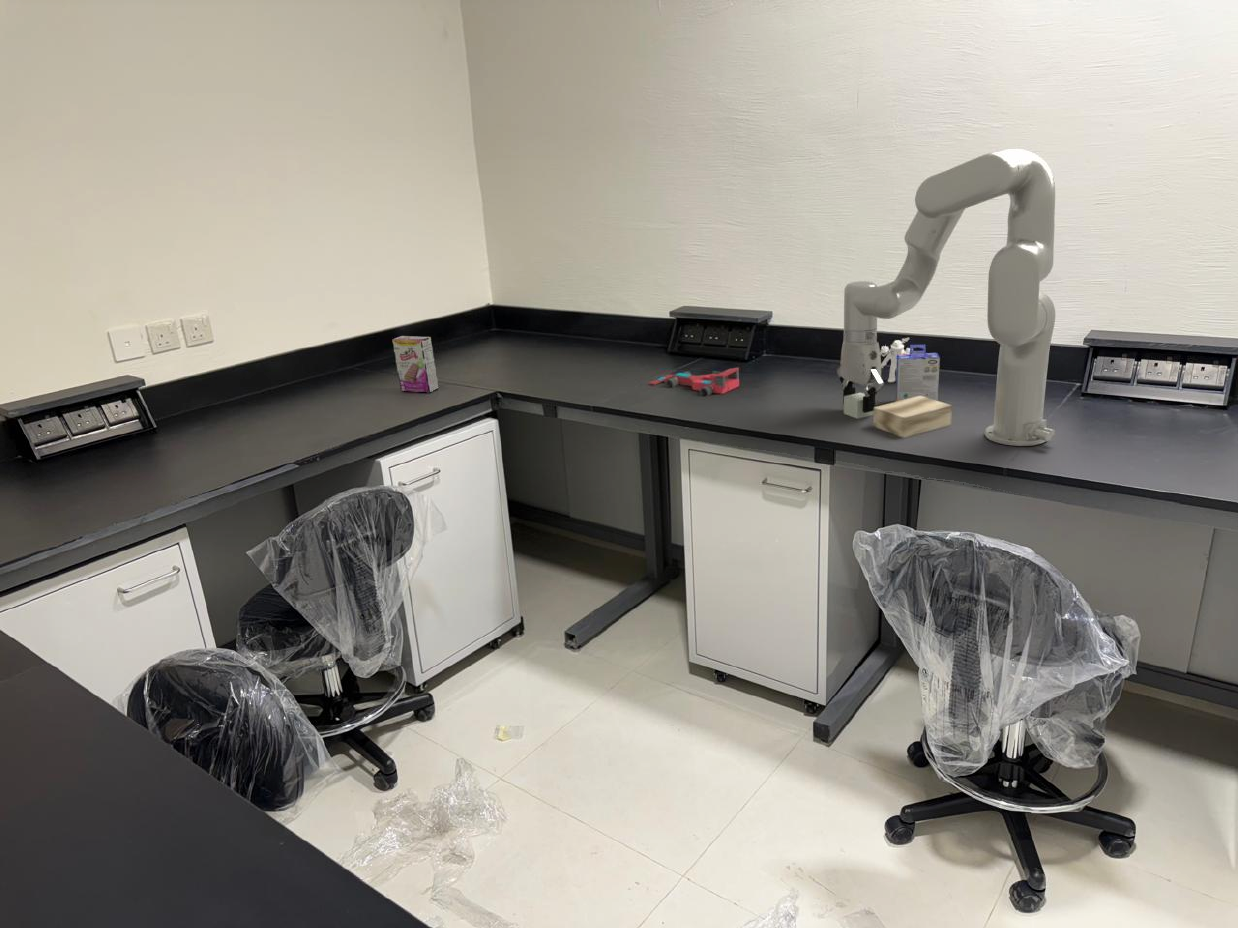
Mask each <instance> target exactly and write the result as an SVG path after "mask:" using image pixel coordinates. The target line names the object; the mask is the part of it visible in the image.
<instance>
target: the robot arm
mask: <svg viewBox="0 0 1238 928" xmlns="http://www.w3.org/2000/svg"><path fill="white" fill-rule="evenodd" d="M1005 195H1008V196H1009V200H1010V201H1009V203H1010V204H1009V210H1008V214H1007V236H1006V244H1005V246H1003V247H1002V248H1001V249H999V250H998V251H997V252H996V254H995V255H994V257H993V258H992V261H991V262H990V264H989V265H990V266H989V270H988V278H987V280H988V282H987V283H988V284H987V315H986V316H987V327H988V331H989V333H990V336H991V337H992V339H993V340H994V341H995V342H997V343H998V344H999V345H1000V347H999V353H998V362H997V363H998V364H997V365H998V366H997V374H996V376H997V377H996V385H995V386H996V390H995V401H994V411H993V412H994V415H993V424H991V425H989V426H988V427H987V428H985V432H984V435H985V437H986V438H987V440H989V441H992V442H994V443H998V444H1000V445H1006V446H1015V447H1016V446H1017V447H1028V446H1029V447H1030V446H1037V445H1041V444H1044V443H1045V442H1049V441H1051V440H1052V439H1053V438H1052V437H1054V436H1055V434H1056V430H1055V429H1053V428H1049V427H1047V419H1044V404H1045V397H1046V395H1045V394H1046V388H1047V387H1046V385H1047V375H1048V367H1049V366H1048V365H1049V356H1050V349H1051V348H1050V347H1051V343H1052V337H1053V333H1054V332H1053V331H1054V327H1055V322H1056V308H1055V304H1054V302H1053V300H1052V298H1051V297H1050V296H1049V295H1048V294H1047V293H1045V292H1043V291H1040V283H1041V282H1042V281H1043V280H1044V279H1046V278H1047V277H1048V275H1050V273H1051V271H1052V269H1053V266H1054V246H1055V245H1054V244H1055V214H1056V213H1055V209H1056V185H1055V179H1054V175H1053V173H1052V171H1051V168H1050V167H1049V166H1048V164H1047V163H1046V162H1045V160H1044V159H1042V158H1041V157H1039V156H1038V155H1036V153H1034V152H1031V151H1028V150H1025V149H1023V148H1022V149H1020V148H1005V149H1001V150H997V151H992V152H989V153H985V154H982V155H981V156H980V155H979V156H978V157H975V158H973V159H971V160H968V161H966V162H964V163H961V164H958V165H957V166H953V167H951V168H949V169H947V170H945V171H942V172H939V173H936V174H933V175H931V176H929V177H927V178H926V179H924V180H923V181H922V182H921V183H920V185H919V186H918V188H917V190H916V193H915V197H914V202H915V204H914V205H915V207H916V209H917V212H916V214H915V215H914V216H913V219H912V221H911V223H910V224H909V226H908V229H907V230H906V231H905V234H904V243H905V245H906V246H907V254H906V257H905V260H904V263H903V264H902V267H901V269H900V271H899V272H898V274H897V276H896V278H895V279H894V280H893V281H891V282H888V283H886V284H882V285H880V286H879V285H878V286H877V284H876V283H875V282H872V281H867V280H865V281H861V280H860V281H853V282H850V283H848V284H846V285H845V288H844V290H843V291H844V293H843V294H844V295H843V300H844V301H843V341H842V345H841V346H842V347H841V353H840V366H839V367H838V368H837V370H836V373H837V375H838V377H839V382H840V383H841V389H842V390H843V392H842V394H843V395H842V396H843V397H842V398H843V399H842V404H843V406H844V396H848V395H852V394H856V387H854V386H855V384H857V385H861V386H862V390H863V393H864V394H865V396H863V412H864V413H866V412H871V411H874V407H876V396H877V395H878V392H879V391H880V389H881V388H882V387H883V386H884V381H883V379H882V368H881V364H882V358H881V357H882V355H880V352H881V349H880V344H879V342H878V341H877V339H878V334H877V333H878V319H883V320H890V319H894V318H896V317H898V316H900V315H902V314H903V313H906V312H908V311H910V310H911V309H913V308H915V306H917V304H918V303H919V302H920V300H921V299H922V297H924V294H925V292H926V290H927V288H928V287H929V285H930V284H931V282H932V280H933V278H934V275H935V273H936V270H937V267H938V264H939V261H940V258H941V254H942V251H943V250H944V247H945V245H946V244H947V242H948V240H949V239H950V236H951V234H952V232H953V231H954V229H955V227H956V226H957V224H958V222H959V220H960V219H961V218H962V215H963V213H964V212H965V210H966V209H968V208H971V207H973V206H976V205H978V204H981V203H984V202H986V201H989V200H992V199H995V198H998V197H1001V196H1005ZM869 386H870V389H869Z"/></svg>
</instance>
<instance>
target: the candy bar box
mask: <svg viewBox="0 0 1238 928" xmlns="http://www.w3.org/2000/svg"><path fill="white" fill-rule="evenodd" d="M391 341H392V346H393V353H394V359H395V363H396V369H397V370H396V371H397V375H398V380H399V387H400V388H399V389H400V391H401V390H406V391H421V392H431V391H433V390H435V389H437V388H439V389H440V386H439V382H438V381H439V380H438V375H437V369H436V363H435V356H434V350H433V343H432V337H431V336H412V335H411V336H410V335H401V336H398V337H395V338H393V339H392V340H391Z"/></svg>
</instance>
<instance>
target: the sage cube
mask: <svg viewBox="0 0 1238 928" xmlns="http://www.w3.org/2000/svg"><path fill="white" fill-rule="evenodd" d="M863 396H865V394H864V392H858V393H857V392H855V394H852V395H848V396H844V405H843V414H844V415H847V416H849V417H852V418H855V419H857V420H858V419H861V418H866V417H869V416H873V415H874V411H871V412H866V413H864V412H863Z"/></svg>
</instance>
